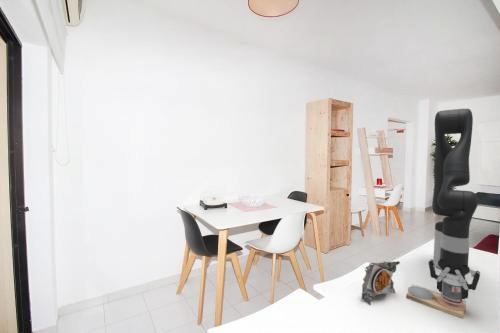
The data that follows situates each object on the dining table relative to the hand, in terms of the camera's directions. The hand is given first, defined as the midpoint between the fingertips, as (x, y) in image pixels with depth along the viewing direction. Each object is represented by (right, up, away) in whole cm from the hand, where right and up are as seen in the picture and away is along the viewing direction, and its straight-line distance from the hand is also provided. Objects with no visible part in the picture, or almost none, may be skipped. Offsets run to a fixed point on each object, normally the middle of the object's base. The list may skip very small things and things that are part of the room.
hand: (451, 294), depth 86 cm
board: (-3, -4, +3) cm, 6 cm away
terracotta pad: (0, -3, 0) cm, 3 cm away
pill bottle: (0, -2, 0) cm, 2 cm away
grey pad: (-6, -3, +7) cm, 10 cm away
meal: (-22, -4, +6) cm, 23 cm away
